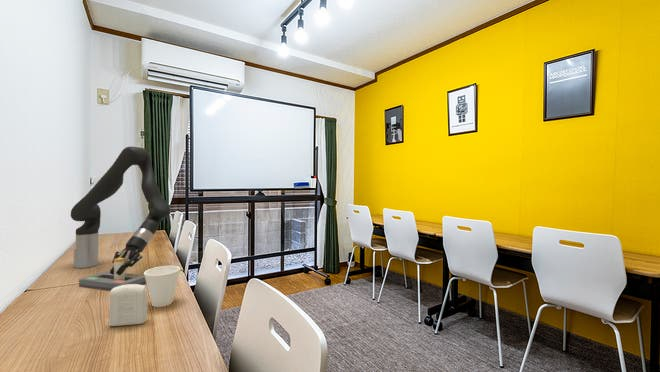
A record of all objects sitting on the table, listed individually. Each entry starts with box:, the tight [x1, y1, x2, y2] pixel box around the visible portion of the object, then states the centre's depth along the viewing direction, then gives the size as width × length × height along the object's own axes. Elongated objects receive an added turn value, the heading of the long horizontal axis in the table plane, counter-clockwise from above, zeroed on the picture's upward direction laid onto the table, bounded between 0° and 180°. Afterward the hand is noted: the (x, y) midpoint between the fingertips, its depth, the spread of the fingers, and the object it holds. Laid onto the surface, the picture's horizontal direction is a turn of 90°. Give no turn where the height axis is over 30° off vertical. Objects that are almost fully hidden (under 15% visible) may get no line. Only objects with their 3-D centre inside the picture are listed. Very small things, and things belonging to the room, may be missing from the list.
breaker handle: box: [113, 258, 126, 280], centre depth 126 cm, size 3×2×10 cm
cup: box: [143, 265, 181, 308], centre depth 108 cm, size 12×12×12 cm
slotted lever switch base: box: [78, 270, 147, 292], centre depth 127 cm, size 24×12×3 cm, turn 75°
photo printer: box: [109, 284, 148, 327], centre depth 93 cm, size 10×4×12 cm, turn 103°
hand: (114, 273), depth 125 cm, fingers closed on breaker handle, 3 cm apart
